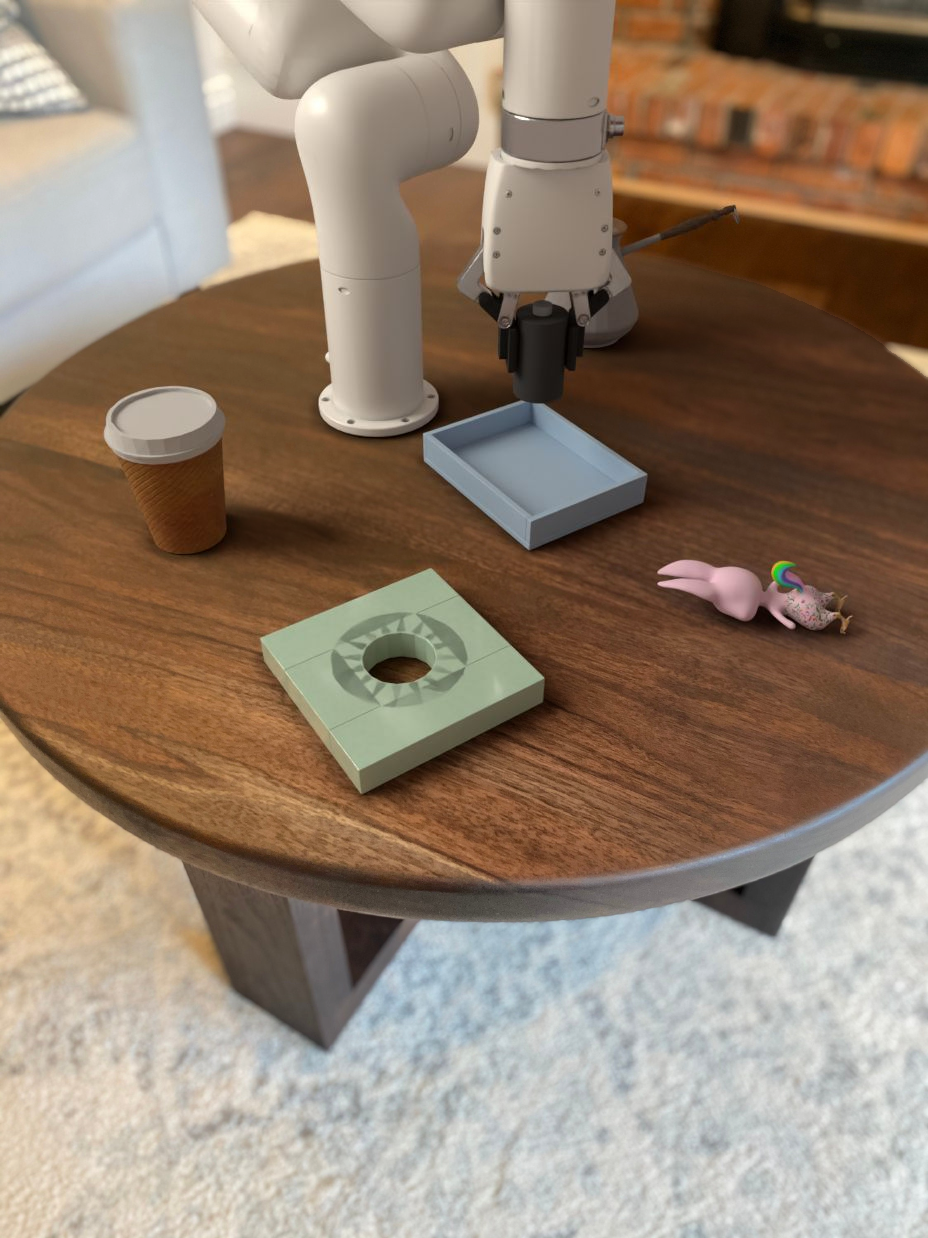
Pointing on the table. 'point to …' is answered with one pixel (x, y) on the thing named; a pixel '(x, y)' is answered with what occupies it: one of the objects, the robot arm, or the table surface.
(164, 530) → the disposable coffee cup
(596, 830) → the table surface
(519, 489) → the tray
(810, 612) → the rabbit figure
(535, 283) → the robot arm
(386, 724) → the drain plate
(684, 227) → the coffee pot
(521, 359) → the plug
